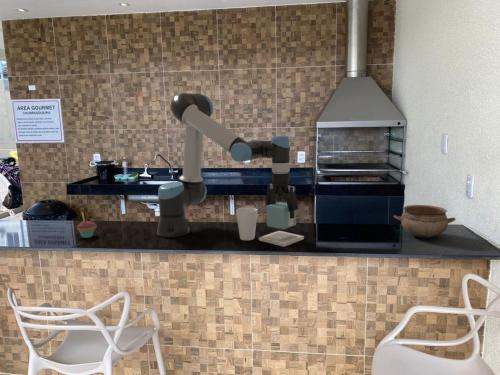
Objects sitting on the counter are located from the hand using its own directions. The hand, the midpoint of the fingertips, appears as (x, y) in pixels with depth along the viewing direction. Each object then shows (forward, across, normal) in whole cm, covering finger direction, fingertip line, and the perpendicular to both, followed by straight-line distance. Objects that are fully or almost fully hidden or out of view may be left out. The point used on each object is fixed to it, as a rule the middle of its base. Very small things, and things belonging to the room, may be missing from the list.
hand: (281, 223), depth 176 cm
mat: (+7, 0, 0) cm, 7 cm away
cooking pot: (+8, -45, -43) cm, 63 cm away
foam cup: (+7, +13, +8) cm, 17 cm away
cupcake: (+7, +73, +53) cm, 91 cm away
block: (+1, 0, 0) cm, 1 cm away
